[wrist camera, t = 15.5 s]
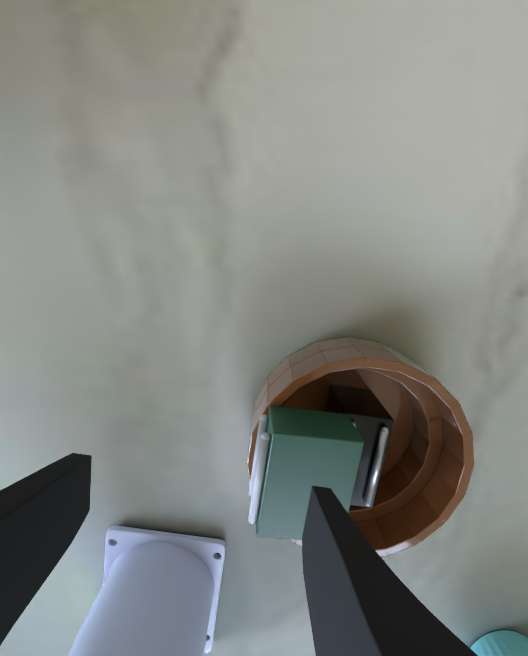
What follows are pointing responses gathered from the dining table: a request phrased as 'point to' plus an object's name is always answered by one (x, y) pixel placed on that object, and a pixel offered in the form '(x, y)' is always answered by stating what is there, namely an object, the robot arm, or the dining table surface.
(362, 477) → the black clip
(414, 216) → the dining table surface
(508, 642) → the cupcake
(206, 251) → the dining table surface
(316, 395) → the bowl
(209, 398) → the dining table surface
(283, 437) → the green clip
